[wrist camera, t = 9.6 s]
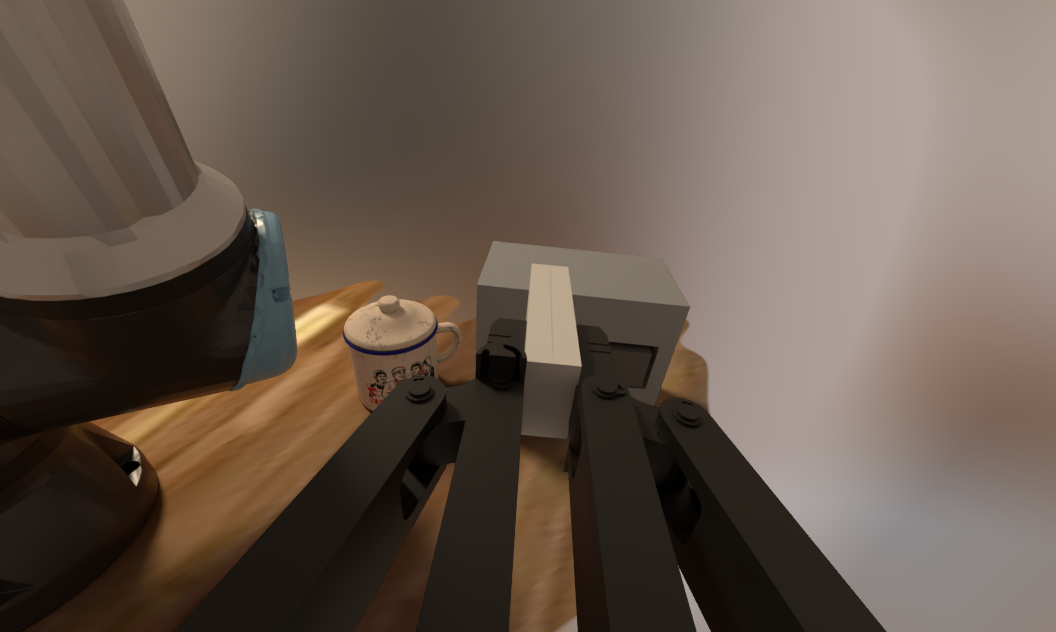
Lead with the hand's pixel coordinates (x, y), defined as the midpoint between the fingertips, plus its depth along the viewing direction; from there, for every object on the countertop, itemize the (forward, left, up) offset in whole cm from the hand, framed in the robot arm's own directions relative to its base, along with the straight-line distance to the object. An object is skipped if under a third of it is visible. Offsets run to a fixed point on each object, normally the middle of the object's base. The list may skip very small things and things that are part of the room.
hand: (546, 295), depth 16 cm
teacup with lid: (-13, +18, -24) cm, 33 cm away
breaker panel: (+4, +19, -24) cm, 31 cm away
